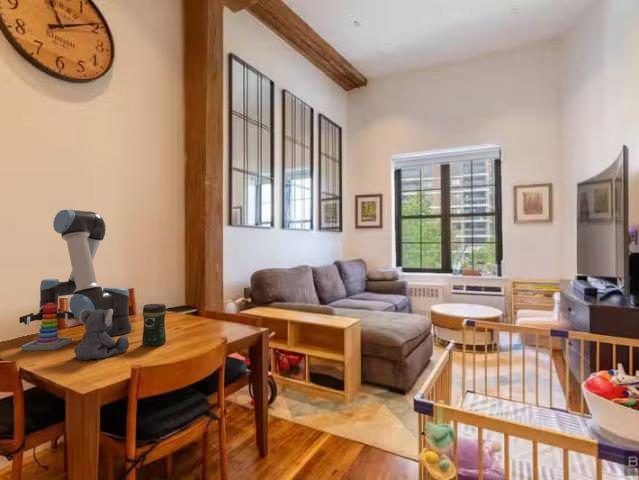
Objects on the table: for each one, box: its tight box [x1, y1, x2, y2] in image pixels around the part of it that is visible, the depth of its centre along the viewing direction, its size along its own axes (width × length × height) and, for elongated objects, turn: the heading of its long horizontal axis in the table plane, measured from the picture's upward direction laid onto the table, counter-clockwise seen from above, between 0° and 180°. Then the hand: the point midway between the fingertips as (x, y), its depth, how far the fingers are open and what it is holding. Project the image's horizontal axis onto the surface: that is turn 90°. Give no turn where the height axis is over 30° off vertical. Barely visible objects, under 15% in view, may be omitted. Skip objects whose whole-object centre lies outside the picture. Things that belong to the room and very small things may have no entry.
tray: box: [20, 337, 73, 352], centre depth 158 cm, size 13×13×2 cm
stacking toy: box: [36, 303, 59, 345], centre depth 158 cm, size 8×8×19 cm
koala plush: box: [73, 309, 130, 361], centre depth 147 cm, size 17×18×20 cm
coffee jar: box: [141, 303, 167, 347], centre depth 164 cm, size 10×8×19 cm
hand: (47, 320), depth 158 cm, fingers open, 13 cm apart
